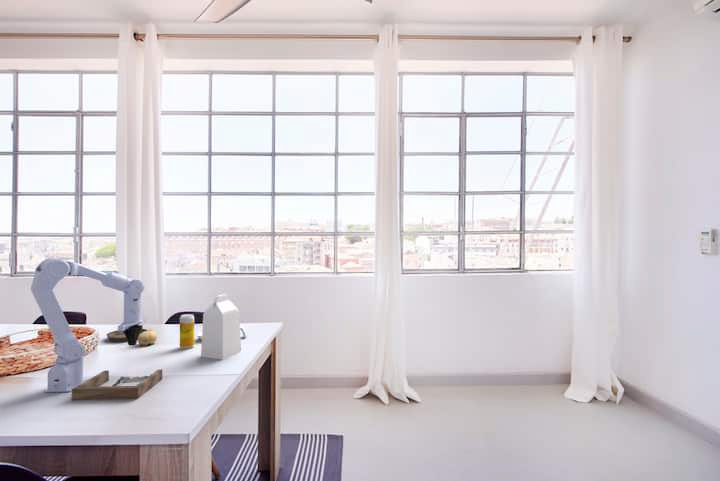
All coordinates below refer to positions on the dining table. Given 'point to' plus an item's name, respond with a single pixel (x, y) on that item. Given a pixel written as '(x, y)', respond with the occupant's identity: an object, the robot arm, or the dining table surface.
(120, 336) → the plant saucer
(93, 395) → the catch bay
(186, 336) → the yellow bottle
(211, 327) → the milk
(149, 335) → the beige rounded lump
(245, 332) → the spoon rest
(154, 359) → the dining table surface
